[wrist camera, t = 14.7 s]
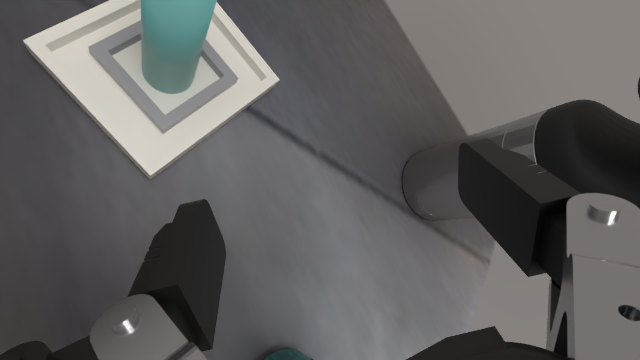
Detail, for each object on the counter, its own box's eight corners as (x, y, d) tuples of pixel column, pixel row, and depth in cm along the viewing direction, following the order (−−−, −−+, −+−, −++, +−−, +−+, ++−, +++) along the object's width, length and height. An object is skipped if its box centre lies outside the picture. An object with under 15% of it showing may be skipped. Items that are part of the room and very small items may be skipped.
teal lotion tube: (171, 39, 34) (191, -114, 20) (204, 78, 35) (246, -42, 20) (130, 62, 32) (118, -89, 18) (165, 103, 33) (182, -11, 18)
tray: (184, -21, 37) (186, -36, 35) (272, 88, 39) (279, 79, 37) (30, 53, 30) (22, 40, 28) (150, 180, 32) (150, 175, 30)
